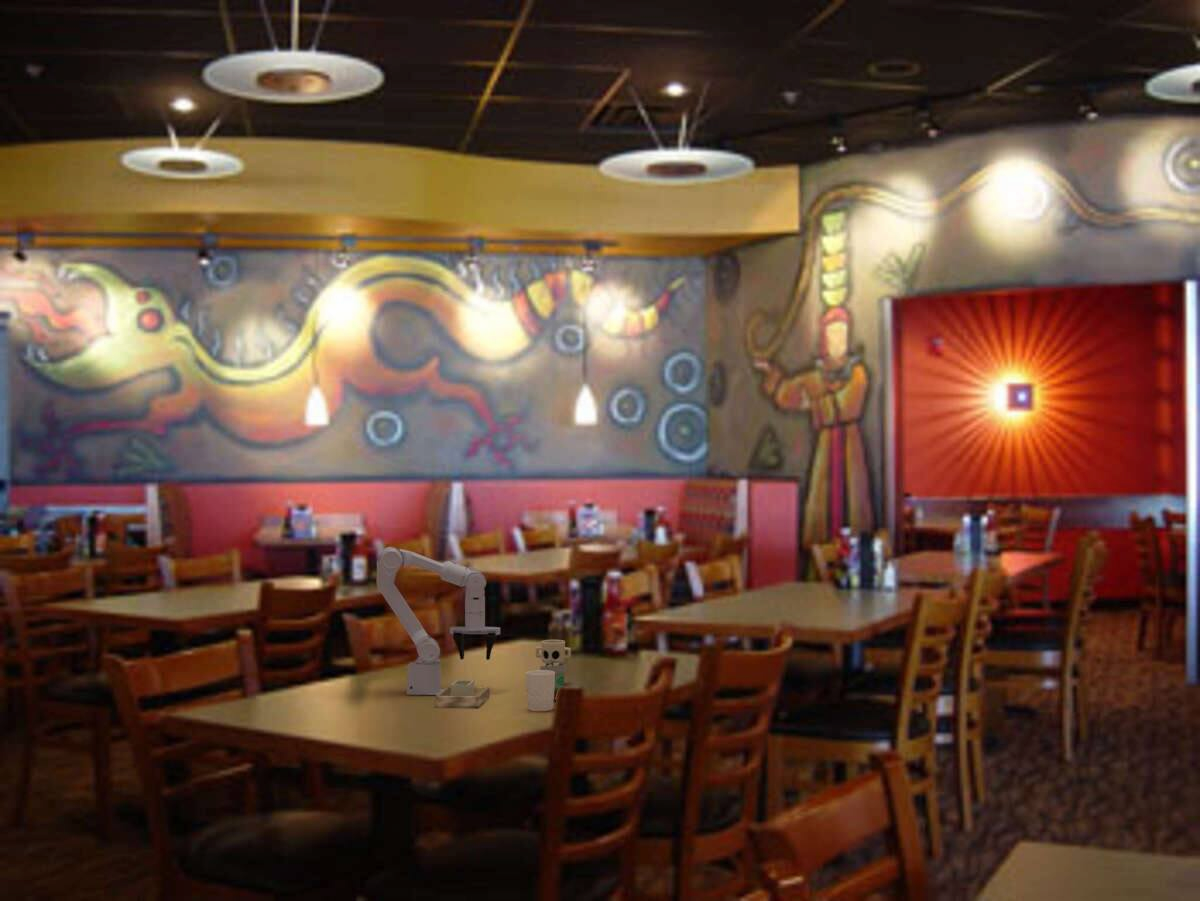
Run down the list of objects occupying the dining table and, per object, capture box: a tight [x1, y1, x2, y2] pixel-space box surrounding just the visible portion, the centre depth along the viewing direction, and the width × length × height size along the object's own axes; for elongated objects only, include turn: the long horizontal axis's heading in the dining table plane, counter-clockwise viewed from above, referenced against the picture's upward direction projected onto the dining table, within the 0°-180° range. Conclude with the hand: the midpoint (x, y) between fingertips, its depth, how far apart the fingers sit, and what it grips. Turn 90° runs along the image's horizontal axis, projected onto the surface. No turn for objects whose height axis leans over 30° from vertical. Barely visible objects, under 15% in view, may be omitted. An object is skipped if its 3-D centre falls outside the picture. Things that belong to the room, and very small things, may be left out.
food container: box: [539, 660, 568, 702], centre depth 393 cm, size 12×6×10 cm, turn 168°
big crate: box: [434, 686, 490, 709], centre depth 388 cm, size 12×16×3 cm
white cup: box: [525, 669, 555, 712], centre depth 378 cm, size 8×8×10 cm
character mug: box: [535, 639, 572, 666], centre depth 418 cm, size 11×7×13 cm, turn 76°
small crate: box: [450, 679, 475, 697], centre depth 388 cm, size 5×8×5 cm, turn 174°
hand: (475, 659), depth 406 cm, fingers open, 7 cm apart
